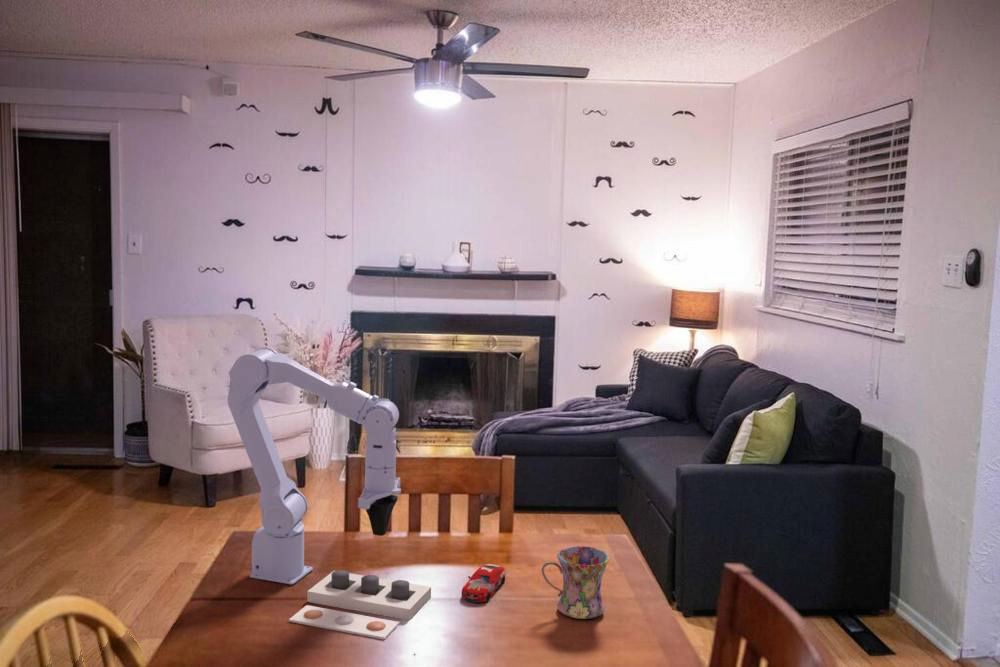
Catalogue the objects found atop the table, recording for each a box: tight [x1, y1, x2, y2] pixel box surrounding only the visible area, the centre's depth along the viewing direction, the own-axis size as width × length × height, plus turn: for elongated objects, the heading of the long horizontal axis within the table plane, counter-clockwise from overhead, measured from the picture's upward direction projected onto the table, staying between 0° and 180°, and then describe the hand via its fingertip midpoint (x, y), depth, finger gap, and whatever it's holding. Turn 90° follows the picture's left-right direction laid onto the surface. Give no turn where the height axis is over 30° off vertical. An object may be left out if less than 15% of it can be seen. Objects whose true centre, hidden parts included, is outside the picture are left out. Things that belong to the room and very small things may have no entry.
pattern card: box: [288, 604, 400, 641], centre depth 152 cm, size 18×6×1 cm, turn 73°
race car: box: [461, 563, 506, 603], centre depth 168 cm, size 13×5×4 cm, turn 158°
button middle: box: [361, 574, 380, 596], centre depth 161 cm, size 3×3×2 cm
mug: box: [541, 545, 610, 620], centre depth 159 cm, size 12×9×11 cm
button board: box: [306, 570, 432, 621], centre depth 162 cm, size 20×10×2 cm, turn 73°
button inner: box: [331, 569, 350, 591], centre depth 163 cm, size 3×3×2 cm
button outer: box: [391, 579, 410, 601], centre depth 160 cm, size 3×3×2 cm
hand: (379, 534), depth 169 cm, fingers closed
